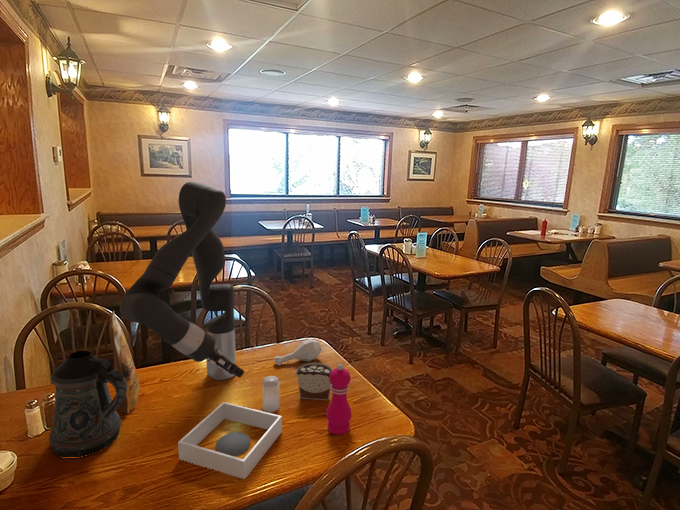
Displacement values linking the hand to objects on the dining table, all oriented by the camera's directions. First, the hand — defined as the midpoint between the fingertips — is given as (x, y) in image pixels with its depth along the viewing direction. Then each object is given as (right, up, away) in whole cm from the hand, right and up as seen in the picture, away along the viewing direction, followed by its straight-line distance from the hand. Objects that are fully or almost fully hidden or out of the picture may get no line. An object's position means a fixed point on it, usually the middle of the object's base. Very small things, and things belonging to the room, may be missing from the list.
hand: (234, 368), depth 116 cm
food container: (+22, -14, +19) cm, 32 cm away
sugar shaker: (+8, -15, +11) cm, 21 cm away
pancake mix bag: (-37, -14, +14) cm, 42 cm away
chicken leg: (+14, -9, +41) cm, 44 cm away
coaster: (+1, -19, -6) cm, 20 cm away
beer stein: (-37, -18, -4) cm, 42 cm away
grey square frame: (+1, -19, -6) cm, 20 cm away
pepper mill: (+29, -18, +2) cm, 34 cm away
